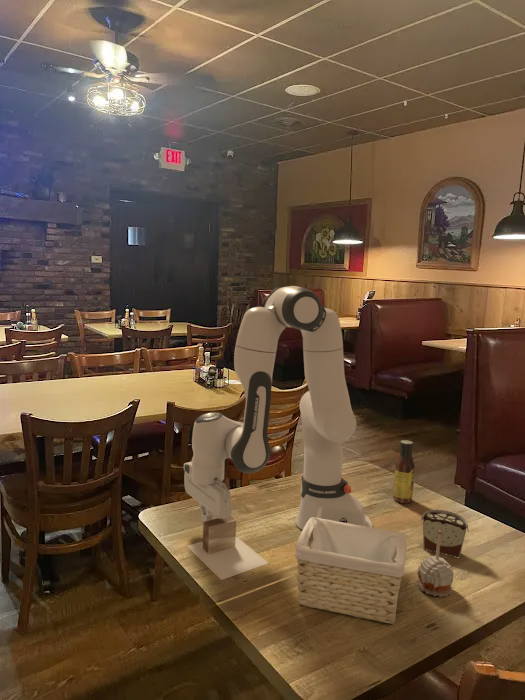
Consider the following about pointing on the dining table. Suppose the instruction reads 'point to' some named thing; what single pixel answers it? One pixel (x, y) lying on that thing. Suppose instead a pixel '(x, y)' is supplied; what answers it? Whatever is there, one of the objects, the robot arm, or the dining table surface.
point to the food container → (444, 531)
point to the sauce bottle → (404, 473)
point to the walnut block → (219, 534)
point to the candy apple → (435, 574)
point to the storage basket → (350, 569)
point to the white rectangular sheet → (229, 559)
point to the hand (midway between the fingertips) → (206, 519)
